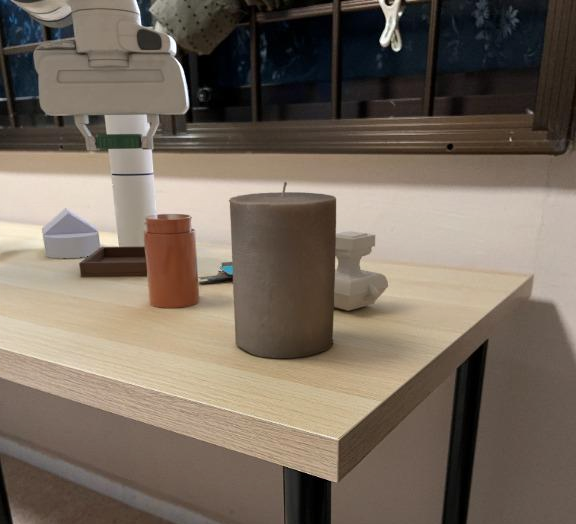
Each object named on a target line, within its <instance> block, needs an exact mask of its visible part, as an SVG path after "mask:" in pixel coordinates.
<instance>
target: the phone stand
mask: <svg viewBox="0 0 576 524" xmlns="http://www.w3.org/2000/svg"><path fill="white" fill-rule="evenodd" d="M198 279H199V280H200V281H198V284H201V285H207V284H222V283H231V282H232V283H233V268H232V261H224V262H221V265H219V270H217V275H206V276H198ZM201 280H202V281H201Z"/></svg>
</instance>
